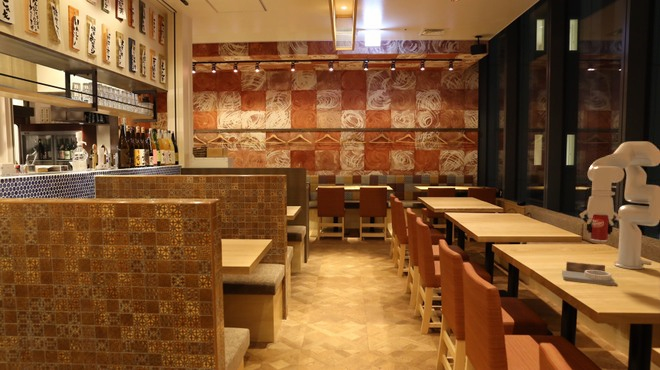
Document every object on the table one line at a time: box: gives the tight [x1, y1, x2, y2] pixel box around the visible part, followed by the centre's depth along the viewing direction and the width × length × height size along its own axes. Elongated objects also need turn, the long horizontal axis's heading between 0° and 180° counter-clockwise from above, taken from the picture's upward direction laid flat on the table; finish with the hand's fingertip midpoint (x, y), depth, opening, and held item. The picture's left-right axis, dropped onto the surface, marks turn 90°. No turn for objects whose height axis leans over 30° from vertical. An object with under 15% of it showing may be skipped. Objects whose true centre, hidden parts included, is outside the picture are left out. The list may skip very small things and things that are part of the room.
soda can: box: [589, 214, 610, 242], centre depth 206 cm, size 7×7×12 cm
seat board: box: [561, 270, 616, 286], centre depth 209 cm, size 20×12×4 cm, turn 66°
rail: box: [565, 261, 606, 273], centre depth 218 cm, size 16×2×5 cm, turn 66°
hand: (599, 232), depth 206 cm, fingers closed on soda can, 7 cm apart
